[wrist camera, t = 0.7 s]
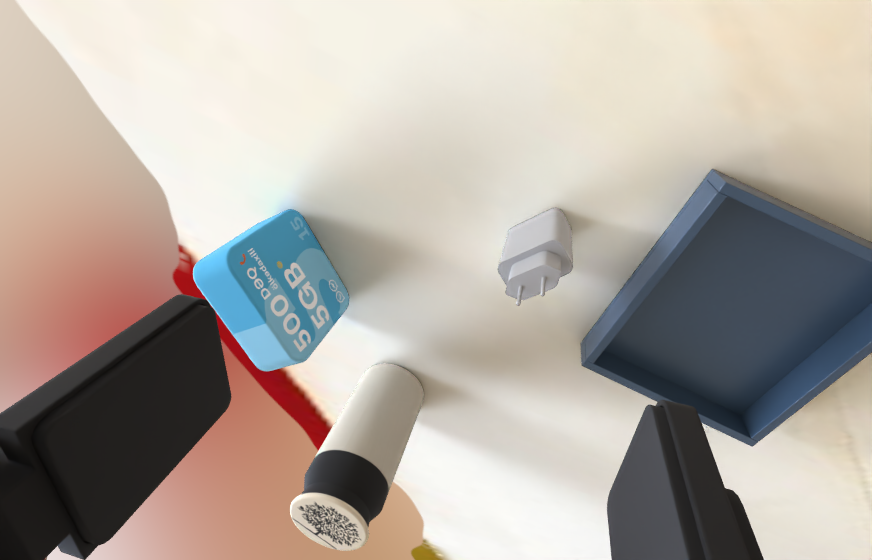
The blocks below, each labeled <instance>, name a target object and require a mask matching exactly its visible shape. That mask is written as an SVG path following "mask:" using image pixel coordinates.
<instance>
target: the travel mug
mask: <svg viewBox="0 0 872 560" xmlns="http://www.w3.org/2000/svg"><path fill="white" fill-rule="evenodd" d="M423 400H424V391H423V388H422V385H421V384H420V382H419V381H418V379H417V378H416V377H415V376H414V375H413V374H412V373H410V372H409V371H408V370H406V369H404V368H402V367H400V366H397V365H393V364H387V363H382V364H376V365H373V366H371V367H369V368H368V369H367V370H366V371H365V372H364V374H363V376H362V377H361V379H360V381H359V383H358V384H357V386H356V388H355V389H354V391H353V393H352V395H351V396H350V398H349V400H348V401H347V403H346V405H345V407H344V408H343V410H342V412H341V414H340V415H339V417H338V419H337V420H336V422H335V424H334V426H333V427H332V429H331V431H330V432H329V434H328V436H327V438H326V439H325V441H324V443H323V445H322V446H321V448H320V450H319V451H318V453H317V455H316V457H315V458H314V460H313V462H312V463H311V465H310V467H309V469H308V470H307V472H306V474H305V482H304V483H305V484H304V491H303V492H302V494H301V495H300V496H298V497H296V498H295V499H294V500H293V502H292V503H291V506H290V514H291V518H292V520H293V522H294V523H295V525H296V526H297V527H298V528H299V530H300V531H301V532H303V533H304V534H305V535H306V536H307V537H309V538H310V539H312V540H313V541H315V542H317V543H319V544H321V545H323V546H326V547H329V548H332V549H337V550H344V551H349V550H355V549H358V548H360V547H362V546H363V545H364V544H365V543H366V542H367V540H368V537H369V530H368V526H369V522H370V521H371V520H372V519H373V518H375V517H376V516H377V515H378V514H379V513H380V512H381V510H382V508H383V505H384V503H385V500H386V497H387V495H388V492H389V490H390V487H391V484H392V482H393V479H394V476H395V474H396V471H397V469H398V466H399V463H400V461H401V458H402V455H403V453H404V450H405V447H406V445H407V442H408V440H409V437H410V434H411V432H412V429H413V426H414V424H415V421H416V418H417V416H418V413H419V411H420V408H421V405H422V403H423Z"/></svg>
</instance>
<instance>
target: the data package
mask: <svg viewBox="0 0 872 560" xmlns="http://www.w3.org/2000/svg"><path fill="white" fill-rule="evenodd" d="M193 277H194V281H195V283H196V285H197V286H198V288H199V289H200V290H201V292H202V293H203V295H204V296H205V297H206V299H207V300H208V301H209V303H210V304H211V306H212V307H213V308H214V310H215V311H216V312H217V314H218V315H219V316H220V318H221V319H222V321H223V322H224V323H225V325H226V326H227V327H228V329H229V330H230V331H231V333H232V334H233V336H234V337H235V338H236V340H237V341H238V342H239V344H240V345H241V347H242V348H243V349H244V351H245V352H246V353H247V355H248V356H249V357H250V359H251V360H252V362H253V363H254V364H255V366H256V367H257V368H259V369H260V370H263V371H271V370H275V369H279V368H283V367H286V366H290V365H294V364H298V363H301V362H304V361H306V360H307V359H308V358H309V356H310V355H311V354H312V352H313V351H314V350H315V349H316V347H317V346H318V345H319V343H320V342H321V341H322V340H323V338H324V337H325V336H326V334H327V333H328V332H329V331H330V329H331V328H332V327H333V325H334V324H335V323H336V322H337V320H338V319H339V318H340V317H341V315H342V314H343V313H344V311H345V310H346V309H347V307H348V305H349V295H348V292H347V290H346V288H345V286H344V285H343V283H342V281H341V280H340V278H339V276H338V275H337V273H336V271H335V270H334V268H333V266H332V265H331V263H330V261H329V259H328V258H327V256H326V254H325V253H324V251H323V249H322V248H321V246H320V244H319V243H318V241H317V239H316V238H315V236H314V234H313V233H312V231H311V229H310V228H309V226H308V224H307V223H306V221H305V219H304V218H303V216H302V215H301V214H300V213H299V212H297V211H295V210H292V209H289V210H286V211H284V212H282V213H279V214H277V215H275V216H273V217H271V218H269V219H266V220H264V221H262V222H260V223H258V224H256V225H255V226H253V227H251V228H250V229H248V230H247V231H245V232H244V233H242V234H240V235H239V236H237V237H236V238H234V239H233V240H231V241H229V242H228V243H226V244H225V245H223V246H222V247H220V248H218V249H217V250H215V251H214V252H212V253H211V254H209V255H207V256H206V257H204V258H203V259H201V260H200V261H198V262H197V263H196V265H195V267H194V269H193Z"/></svg>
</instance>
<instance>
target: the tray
mask: <svg viewBox="0 0 872 560" xmlns="http://www.w3.org/2000/svg"><path fill="white" fill-rule="evenodd" d="M870 353H872V242H869V241H867V240H865V239H863V238H861V237H859V236H856V235H854V234H852V233H850V232H848V231H846V230H843V229H841V228H839V227H837V226H835V225H833V224H830V223H828V222H826V221H824V220H822V219H820V218H817V217H815V216H813V215H811V214H809V213H807V212H804V211H802V210H800V209H798V208H796V207H794V206H792V205H789V204H787V203H785V202H783V201H781V200H779V199H776V198H774V197H772V196H770V195H768V194H766V193H763V192H761V191H759V190H757V189H755V188H753V187H750V186H748V185H746V184H744V183H742V182H740V181H737V180H735V179H733V178H731V177H729V176H727V175H724V174H722V173H720V172H718V171H716V170H714V169H712V170H711V171H710V172H709V174H708V175H707V176H706V178H705V179H704V180H703V182H702V183H701V184H700V186H699V187H698V188H697V190H696V191H695V192H694V194H693V195H692V196H691V197H690V199H689V200H688V201H687V203H686V204H685V205H684V207H683V208H682V209H681V211H680V212H679V213H678V215H677V216H676V217H675V219H674V220H673V221H672V223H671V224H670V225H669V227H668V228H667V229H666V231H665V232H664V233H663V235H662V236H661V237H660V239H659V240H658V241H657V243H656V244H655V245H654V247H653V248H652V249H651V251H650V252H649V253H648V255H647V256H646V257H645V258H644V260H643V261H642V262H641V264H640V265H639V266H638V268H637V269H636V270H635V272H634V273H633V274H632V276H631V277H630V278H629V280H628V281H627V282H626V284H625V285H624V286H623V288H622V289H621V290H620V292H619V293H618V294H617V296H616V297H615V298H614V300H613V301H612V302H611V304H610V305H609V306H608V308H607V309H606V310H605V312H604V313H603V314H602V316H601V317H600V318H599V320H598V321H597V322H596V323H595V325H594V326H593V327H592V329H591V330H590V331H589V333H588V334H587V335H586V337H585V338H584V339H583V341H582V342H581V362H582V366H584V367H586V368H588V369H590V370H592V371H594V372H596V373H598V374H600V375H603V376H605V377H607V378H609V379H611V380H613V381H615V382H617V383H619V384H622V385H624V386H626V387H628V388H630V389H632V390H634V391H636V392H638V393H640V394H643V395H645V396H647V397H649V398H651V399H653V400H655V401H657V402H659V401H660V400H666V401H671V402H675V403H680V404H684V405H689V406H693V407H694V408H696V410H697V412H698V415H699V418H700V420H701V422H702V423H704V424H706V425H708V426H710V427H712V428H714V429H716V430H718V431H720V432H723V433H725V434H727V435H729V436H731V437H733V438H735V439H737V440H739V441H742V442H744V443H746V444H748V445H750V446H754V445H755V444H756V443H758V441H760V440H761V439H763V438H764V437H765V436H766V435H768V434H769V433H770V432H771V431H773V430H774V429H775V428H776V427H778V426H779V425H780V424H782V423H783V422H784V421H785V420H787V419H788V418H789V417H790V416H792V415H793V414H794V413H796V412H797V411H798V410H799V409H801V408H802V407H803V406H804V405H806V404H807V403H808V402H809V401H811V400H812V399H813V398H815V397H816V396H817V395H818V394H820V393H821V392H822V391H823V390H825V389H826V388H827V387H829V386H830V385H831V384H832V383H834V382H835V381H836V380H837V379H839V378H840V377H841V376H842V375H844V374H845V373H846V372H848V371H849V370H850V369H851V368H853V367H854V366H855V365H856V364H858V363H859V362H860V361H861V360H863V359H864V358H865V357H867V356H868V355H869V354H870Z"/></svg>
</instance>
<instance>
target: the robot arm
mask: <svg viewBox="0 0 872 560" xmlns="http://www.w3.org/2000/svg"><path fill="white" fill-rule="evenodd" d="M230 401H231V391H230V387H229V381H228V376H227V371H226V366H225V361H224V356H223V351H222V345H221V340H220V335H219V330H218V325H217V320H216V314H215V311H214V309H213V308H211V307H210V304H209V303H208V301H207V300H204V299H201V298H196V297H192V296H187V295H177V296H175V297H173V298H172V299H170V300H169V301H167V302H166V303H164V304H163V305H161V306H160V307H158V308H157V309H155V310H154V311H152V312H151V313H150V314H148V315H146V316H145V317H143V318H142V319H141V320H139V321H138V322H136V323H134V324H133V325H131V326H130V327H128V328H127V329H125V330H124V331H122V332H121V333H119V334H118V335H116V336H115V337H114V338H112V339H111V340H109V341H108V342H106V343H105V344H103V345H102V346H100V347H99V348H97V349H96V350H94V351H93V352H91V353H90V354H88V355H87V356H85V357H84V358H82V359H81V360H79V361H78V362H76V363H75V364H74V365H72V366H70V367H69V368H67V369H66V370H64V371H63V372H62V373H60V374H58V375H57V376H56V377H54V378H52V379H51V380H49V381H48V382H46V383H45V384H44V385H42V386H41V387H39V388H38V389H36V390H35V391H33V392H32V393H30V394H29V395H27V396H26V397H24V398H23V399H21V400H20V401H18V402H17V403H15V404H14V405H12V406H11V407H9V408H8V409H6V410H5V411H3V412H2V413H0V560H46V559H47V556H48V555H49V554H50V553H51V552H52V551H53V550H54V549H55V548H56V547H57V546H58V547H59V549H60V551H61V552H63V553H66V554H69V555H72V556H75V557H78V558H80V559H83V560H85V559H86V558H87V557H88V556H89V555H90V554H91V553H92V552H93V551H94V549H95V548H96V547H97V546H98V545H101V544H104V543H106V542H107V541H108V540H110V539H111V538H112V537H113V536H114V534H116V532H117V531H118V530H119V529H120V528H121V527H122V526H123V525H124V523H125V522H126V521H127V520H128V519H129V518H130V517H131V516H132V515H133V513H134V512H135V511H136V510H137V509H138V508H139V507H140V506H141V505H142V503H143V502H144V501H145V500H146V499H147V498H148V497H149V496H150V494H151V493H152V492H153V491H154V490H155V489H156V488H157V487H158V486H159V485H160V483H161V482H162V481H163V480H164V479H165V478H166V477H167V476H168V475H169V473H170V472H171V471H172V470H173V469H174V468H175V467H176V466H177V465H178V463H179V462H180V461H181V460H182V459H183V458H184V457H185V456H186V454H187V453H188V452H189V451H190V450H191V449H192V448H193V447H194V445H195V444H196V443H197V442H198V441H199V440H200V439H201V438H202V436H204V434H205V433H206V432H207V431H208V430H209V429H210V428H211V427H212V426H213V424H214V423H215V422H216V421H217V420H218V419H219V418H220V417H221V415H222V414H223V413H224V412H225V411H226V410H227V408H228V406H229V404H230ZM607 514H608V524H609V535H610V546H611V556H612V560H764V559H763V556H762V554H761V551H760V548H759V546H758V543H757V541H756V538H755V535H754V533H753V530H752V528H751V525H750V522H749V520H748V517H747V515H746V512H745V509H744V507H743V504H742V503H741V501H740V499H739V497H738V495H737V494H736V493H735V492H734V491H733V490H729V489H726V488H725V487H724V484H723V482H722V479H721V476H720V473H719V471H718V468H717V465H716V462H715V459H714V457H713V454H712V451H711V448H710V445H709V443H708V440H707V437H706V434H705V432H704V429H703V426H702V423H701V420H700V418H699V415H698V412H697V410H696V408H694V407H693V406H689V405H684V404H680V403H675V402H671V401H666V400H660V401H659V402H658V403H657V404H656V406H653V405H648V406H646V408H645V410H644V412H643V415H642V417H641V420H640V422H639V424H638V427H637V429H636V431H635V434H634V436H633V438H632V441H631V443H630V446H629V448H628V450H627V453H626V455H625V457H624V460H623V462H622V464H621V467H620V469H619V472H618V474H617V476H616V479H615V481H614V483H613V486H612V488H611V490H610V493H609V497H608V504H607Z"/></svg>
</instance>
